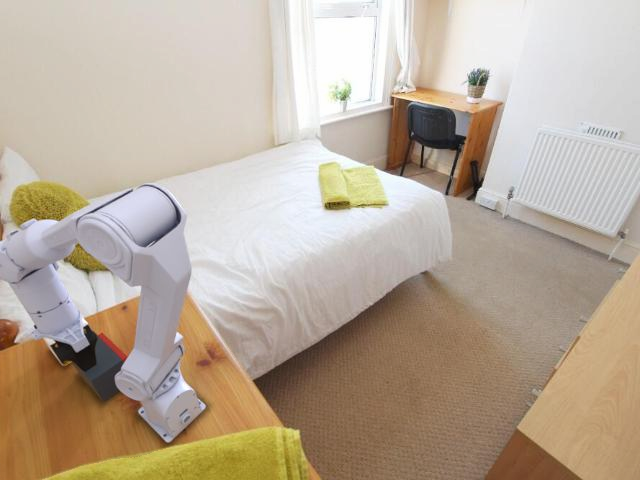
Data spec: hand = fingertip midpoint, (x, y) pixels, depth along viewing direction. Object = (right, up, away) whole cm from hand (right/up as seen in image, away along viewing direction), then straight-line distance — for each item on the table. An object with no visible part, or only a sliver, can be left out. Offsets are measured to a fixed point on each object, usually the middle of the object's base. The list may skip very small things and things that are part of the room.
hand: (80, 356), depth 61 cm
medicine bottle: (-10, -3, +12) cm, 16 cm away
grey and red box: (-1, -5, +2) cm, 5 cm away
